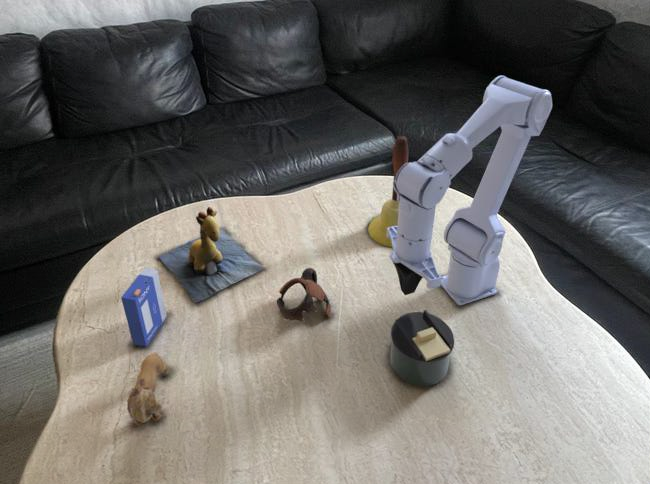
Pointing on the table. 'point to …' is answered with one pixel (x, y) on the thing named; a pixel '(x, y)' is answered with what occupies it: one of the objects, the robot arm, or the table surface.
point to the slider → (430, 344)
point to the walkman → (144, 306)
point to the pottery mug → (307, 305)
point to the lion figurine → (146, 390)
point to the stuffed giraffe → (209, 260)
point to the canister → (409, 357)
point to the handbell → (391, 206)
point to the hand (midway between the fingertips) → (408, 291)
